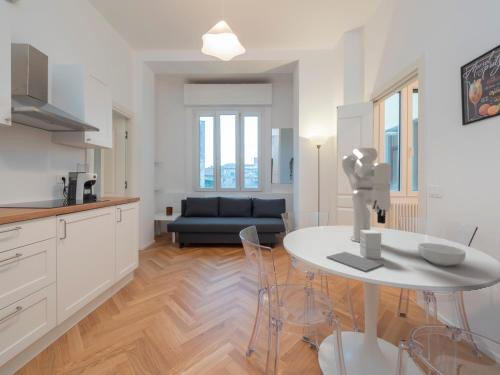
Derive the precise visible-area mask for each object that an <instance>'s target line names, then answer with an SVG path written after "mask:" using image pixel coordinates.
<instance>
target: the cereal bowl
mask: <svg viewBox="0 0 500 375" xmlns="http://www.w3.org/2000/svg"><path fill="white" fill-rule="evenodd" d="M417 247H418V248H417V249H418V251H417V252H418V254H419V255H420V256H421V257H422V258H423V259H426V260H427V261H429V262H430V263H431V264H433V265H437V266H441V267H451V266H454V265H455V266H456V265H459V264H462V263H463V262H464V261H465V259H466V254H467V252H466V251H465V250H464V249H461V248H459V247H455V246H452V245H446V244H441V243H440V244H439V243H432V242H431V243H429V242H428V243H427V242H425V243H424V242H423V243H419V244H418V245H417Z"/></svg>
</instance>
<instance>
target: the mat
mask: <svg viewBox="0 0 500 375" xmlns="http://www.w3.org/2000/svg"><path fill="white" fill-rule="evenodd" d="M326 258H327V259H328V258H329V260H332V261H335V262H336V263H340V264H343V265H345V266H348V267H350V268H353V269H356V270H359V271H362V272H363V273H367V272H370V271H372V270H375V269H377V268H380V267H383V266H384V263H382V262H379V261H375V260H374V259H373V260H372V259H366V258H364V257H363V256H360V255H357V254H353V253H350V252H347V251H343V252H338V253H336V254H335V253H334V254H331V255H329V256H328V255H327V256H326Z"/></svg>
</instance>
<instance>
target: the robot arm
mask: <svg viewBox="0 0 500 375" xmlns="http://www.w3.org/2000/svg"><path fill="white" fill-rule="evenodd" d="M378 155H379V154H378V150H377V149H376V148H373V147H358V148H356V149H354V150H353V151H352V153H351V155H345V156H344V157H343V158H342V160H341V166H342V169H343V173H344V174H345V175H346V177H347V179H348V182H349V185H350V187H351V190H352V191H353V192H352V195H351V198H352V206H353V224H352V225H353V228H352V230H353V231H352V232H353V233H352V236H350V240H351V241H354V242H356V243H360V230H371V215H372V214H371V211H370V209H369V207H368V206H371V209H372V210H374V212H375V213H376V217H377V220H376V221H377V222H376V223H377V224H386V215H387V212H388V211H389V209H390V208H391V171H392V170H391V164H390V162H389V163H388V162H378V163H374V162H375V161H376V160H377V159H378Z"/></svg>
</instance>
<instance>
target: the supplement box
mask: <svg viewBox="0 0 500 375" xmlns="http://www.w3.org/2000/svg"><path fill="white" fill-rule="evenodd" d="M359 244H360V245H359V254H360V255H361V257H363V258H366V259H370V260H372V259H373V260H377V259H378V260H381V259H382V233H381V232H379V231H377V230H376V229H370V230H360V242H359Z"/></svg>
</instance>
